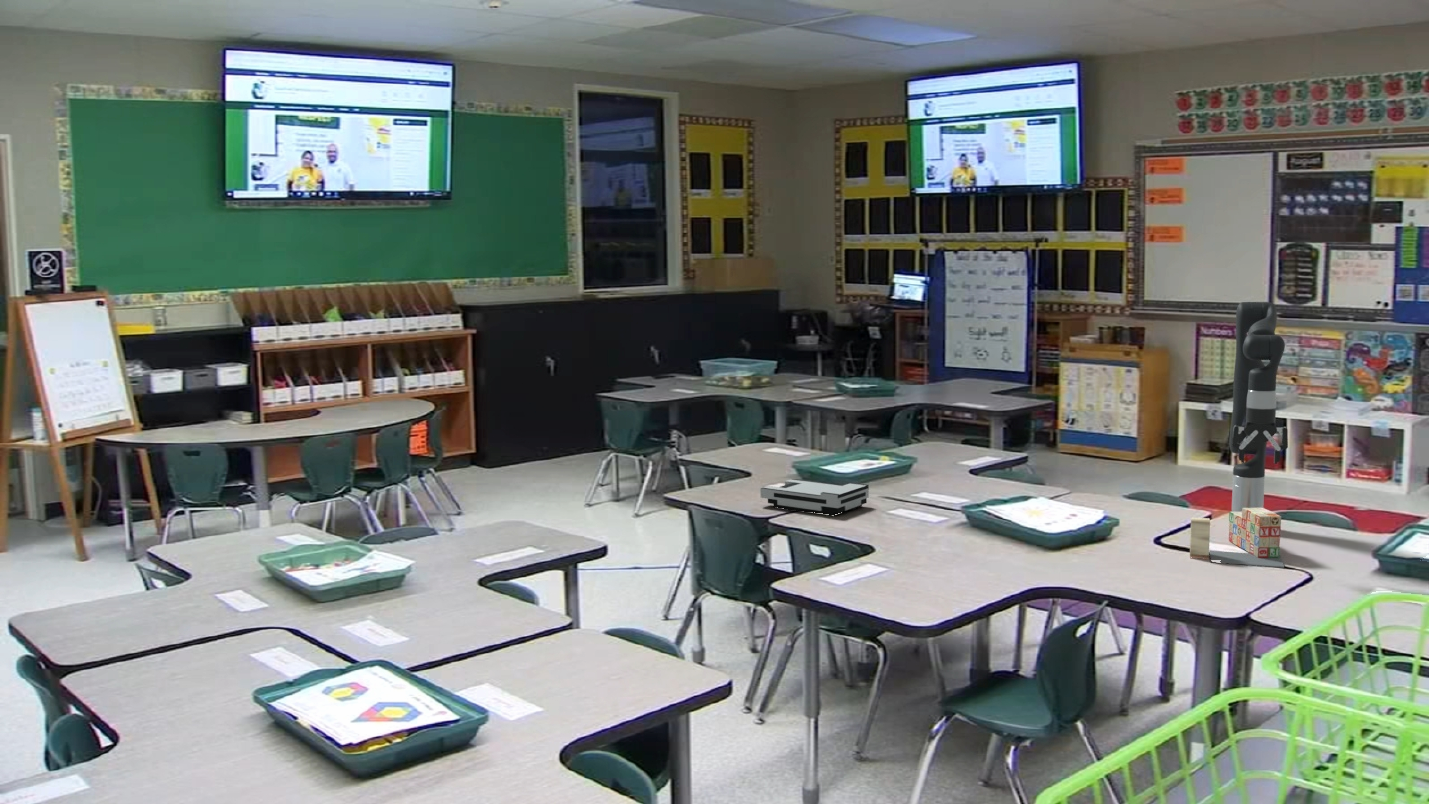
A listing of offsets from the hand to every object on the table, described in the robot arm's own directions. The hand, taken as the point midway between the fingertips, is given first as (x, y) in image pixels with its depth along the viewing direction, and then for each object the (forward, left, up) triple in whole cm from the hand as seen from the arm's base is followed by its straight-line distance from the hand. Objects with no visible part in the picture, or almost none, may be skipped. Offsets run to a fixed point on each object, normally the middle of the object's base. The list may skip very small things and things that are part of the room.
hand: (1258, 462), depth 340 cm
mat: (-4, -2, -29) cm, 29 cm away
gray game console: (-38, -141, -30) cm, 149 cm away
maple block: (-4, -15, -29) cm, 33 cm away
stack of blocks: (-16, +1, -29) cm, 33 cm away
